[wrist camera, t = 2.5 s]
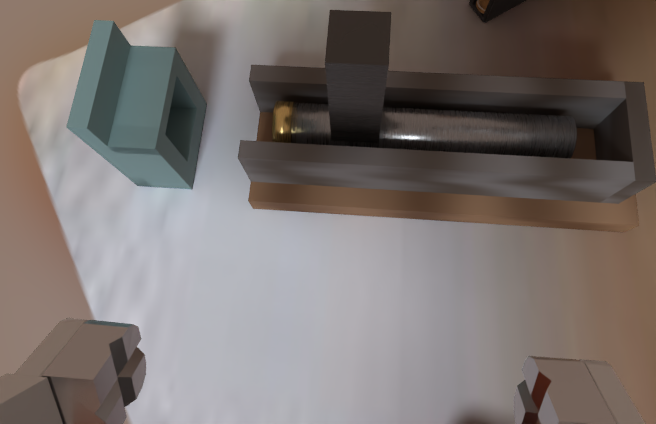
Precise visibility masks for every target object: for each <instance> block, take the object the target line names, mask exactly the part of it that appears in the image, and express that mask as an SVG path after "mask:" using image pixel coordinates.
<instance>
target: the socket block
mask: <svg viewBox="0 0 656 424" xmlns="http://www.w3.org/2000/svg"><path fill="white" fill-rule="evenodd" d="M206 105H207V103H206V102H205V100H204V98H203V96H202V94H201V93H200V91H199V89H198V87H197V85H196V84H195V82H194V80H193V78H192V76H191V75H190V73H189V71H188V69H187V67H186V66H185V64H184V62H183V60H182V59H181V57H180V55H179V53H178V51H177V50H176V48H173V47H150V46H131V45H130V44H129V43H128V41H127V40H126V38H125V37H124V35H123V34H122V32H121V31H120V30H119V28H118V27H117V25H116V24H115V22H114V21H101V20H95V21H94V24H93V28H92V31H91V36H90V39H89V43H88V47H87V50H86V54H85V58H84V62H83V66H82V70H81V73H80V77H79V81H78V85H77V89H76V92H75V96H74V100H73V104H72V108H71V112H70V115H69V119H68V123H67V128H68V129H69V130H70V131H72V132H73V133H74V134H75V135H77V136H78V137H79V138H80V139H81V140H83V141H84V142H85V143H86V144H87V145H89V146H90V147H91V148H92V149H94V150H95V151H96V152H97V153H98V154H100V155H101V156H102V157H103V158H104V159H106V160H107V161H108V162H109V163H111V164H112V165H113V166H114V167H115V168H117V169H118V170H119V171H120V172H121V173H123V174H124V175H125V176H126V177H128V178H129V179H130V180H131V181H132V182H134V183H135V184H136V185H137V186H148V187H164V188H180V189H192V187H193V181H194V175H195V169H196V163H197V158H198V152H199V146H200V140H201V134H202V128H203V123H204V117H205V111H206Z"/></svg>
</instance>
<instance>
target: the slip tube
mask: <svg viewBox="0 0 656 424" xmlns="http://www.w3.org/2000/svg"><path fill="white" fill-rule="evenodd" d="M390 25H391V12H369V11H342V10H330V15H329V26H328V37H327V47H326V58H325V68H326V80H327V93H328V104H313V103H296V102H291V101H276V103H275V106H274V111H273V120H272V138H273V142H280V143H298V144H316V145H334V146H352V147H371V148H389V149H407V150H425V151H443V152H461V153H480V154H498V155H516V156H534V157H552V158H571V157H572V155H573V153H574V150H575V146H576V140H577V127H576V123H575V120H574V118H573V117H571V116H555V115H535V114H515V113H495V112H475V111H454V110H434V109H414V108H394V107H383V103H384V95H385V88H386V80H387V73H388V65H389V45H390Z"/></svg>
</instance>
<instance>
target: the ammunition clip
mask: <svg viewBox="0 0 656 424" xmlns="http://www.w3.org/2000/svg"><path fill="white" fill-rule="evenodd" d="M524 1H526V0H470V2H469V5H470V6H471V7H472V8H473V10H474V11H475V12H476V13H477V15H478V16H479V17H480V18H481V19H482V21H483V22H487V21H489V20H491V19H493V18H494V17H496V16H498V15H500V14H502V13H504V12H506V11H508V10H509V9H511V8H513V7H515V6H517V5H519V4H521V3H522V2H524Z"/></svg>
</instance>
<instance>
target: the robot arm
mask: <svg viewBox="0 0 656 424" xmlns="http://www.w3.org/2000/svg"><path fill="white" fill-rule="evenodd" d="M140 340H141V336H140V332H139V328H138V326H136V325H134V324H125V323H115V322H106V321H96V320H82V319H73V318H66V319H64V320H62V321H60V322H59V323H58V324H57V325H56V326H55V328H54V329H53V330H52V331H51V332H50V333H49V334H48V336H47V337H46V338H45V339H44V340H43V341H42V343H41V344H40V345H39V346H38V347H37V348H36V350H35V351H34V352H33V353H32V354H31V355H30V356H29V358H28V359H27V360H26V361H25V362H24V363H23V364H22V366H21V367H20V368H19V369H18V370H17V371H16V373H15V374H5V375H4V376H1V377H0V424H123V423H124V421H125V419H126V417H127V416H126V412H125V408H124V407H126V406H127V405H128V404H130V403H131V402H133V401H134V400H136V399H137V397H138V395H139V393H140V391H141V389H142V386H143V382H144V379H145V375H146V360H145V355H144V353H143V352H142V351H141V350H140V349H139V348H137V345H138V343H139V342H140ZM522 372H523V375H524V378H525V380H524V381H523V382H522V383H520V384H519V385H517V388H516V392H515V396H514V416H515V423H516V424H646V423H645V421H644V420H643V418H642V416H641V415H640V413H639V411H638V410H637V408H636V406H635V405H634V403H633V401H632V400H631V398H630V396H629V395H628V393H627V391H626V390H625V388H624V386H623V385H622V383H621V381H620V379H619V378H618V376H617V374H616V373H615V371H614V369H613V368H612V366H611V365H610V364H609V363H607V362H606V361H595V360H576V359H563V358H549V357H535V356H528V357H527V359H526V360H525V362H524V365H523V368H522Z"/></svg>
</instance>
